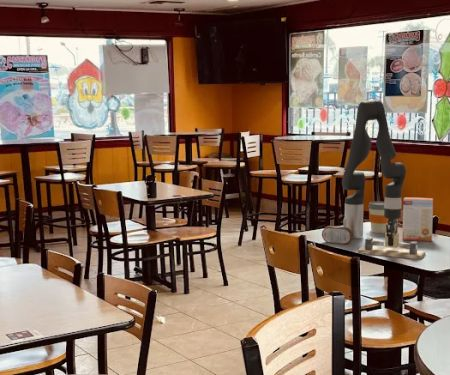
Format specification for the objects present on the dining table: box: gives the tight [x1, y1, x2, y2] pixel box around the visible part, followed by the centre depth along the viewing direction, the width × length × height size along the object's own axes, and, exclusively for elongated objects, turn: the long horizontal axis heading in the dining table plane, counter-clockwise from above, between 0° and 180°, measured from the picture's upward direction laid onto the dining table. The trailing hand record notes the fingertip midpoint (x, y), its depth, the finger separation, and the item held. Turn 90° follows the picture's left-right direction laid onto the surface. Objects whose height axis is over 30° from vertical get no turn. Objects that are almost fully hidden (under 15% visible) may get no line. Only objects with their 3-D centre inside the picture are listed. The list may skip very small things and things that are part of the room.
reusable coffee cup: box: [368, 200, 389, 234], centre depth 366 cm, size 12×13×15 cm
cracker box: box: [401, 196, 434, 242], centre depth 343 cm, size 14×6×21 cm, turn 71°
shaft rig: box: [357, 237, 426, 260], centre depth 313 cm, size 28×10×6 cm, turn 63°
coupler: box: [384, 232, 400, 249], centre depth 313 cm, size 5×4×6 cm
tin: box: [321, 225, 354, 245], centre depth 336 cm, size 15×3×8 cm, turn 65°
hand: (391, 244), depth 313 cm, fingers closed on coupler, 4 cm apart
